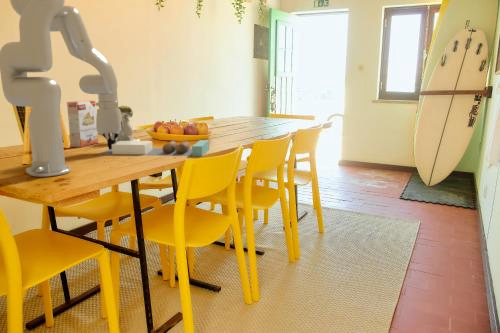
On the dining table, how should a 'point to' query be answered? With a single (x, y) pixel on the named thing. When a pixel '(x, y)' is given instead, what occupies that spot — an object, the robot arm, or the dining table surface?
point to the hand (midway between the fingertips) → (112, 148)
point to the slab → (132, 147)
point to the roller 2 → (182, 147)
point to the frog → (126, 125)
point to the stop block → (200, 148)
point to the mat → (153, 153)
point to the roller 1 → (169, 147)
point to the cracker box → (82, 123)
